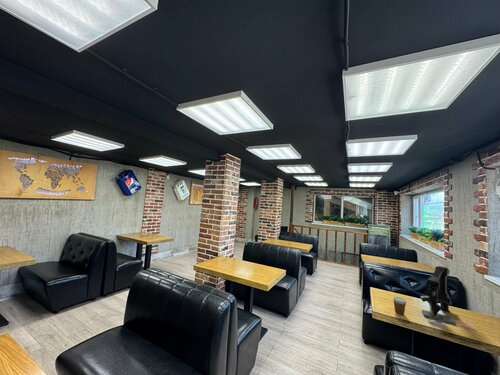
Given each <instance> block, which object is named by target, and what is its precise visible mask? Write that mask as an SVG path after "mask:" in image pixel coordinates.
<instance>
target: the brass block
mask: <svg viewBox="0 0 500 375" xmlns="http://www.w3.org/2000/svg"><path fill="white" fill-rule="evenodd" d="M429 311H430V315H433V316H434V313H433V309H432V308H431V307H430V306H429ZM436 316H437V315H436Z"/></svg>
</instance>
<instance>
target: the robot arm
mask: <svg viewBox="0 0 500 375" xmlns="http://www.w3.org/2000/svg"><path fill="white" fill-rule="evenodd" d="M449 275H450V269H449V268H448V267H445V266H442V265H441V266H440V265H438V266H435V268H434V272H433V273H432V275H431V276H430V277H428V279H427V280H426V284H425V288H426V289H425V290H424V295H420V299H421V302H427V303H428V304H429V308H430V307H431V308H432V309H433V313H434V316H436V315H437V313H438V314H439V312H440V311H444V312H447V313H451V311H450V309H449V306H452V300H451V298H450V295H449V293H448V288H447V287H448V286H447V285H448V284H447V283H448V282H447V277H448V276H449ZM438 291H439V292H438ZM439 303H440V304H439Z"/></svg>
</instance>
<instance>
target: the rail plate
mask: <svg viewBox="0 0 500 375" xmlns="http://www.w3.org/2000/svg"><path fill="white" fill-rule="evenodd" d="M421 314H422V316H423V317H424V318H427V319H432V320H435V321H439V322H443V323H447V324H451V325H454V326H455V325H456V326H457V322H456V321H455V319H454V318H453V316H450V315H447V314H446V315H445V314H443V313H442V314H441V313H439V312H438V313H437V316H433V315H430V310H425V309H421Z"/></svg>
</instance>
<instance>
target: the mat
mask: <svg viewBox="0 0 500 375" xmlns="http://www.w3.org/2000/svg"><path fill="white" fill-rule="evenodd" d="M454 321H455V322H456V325H458V326H459V327H461V328H462V327H463V328H466V329H469V330H474V331H478V330H477V328H476V327H475V326H474V325H473V324H472V323H469V322H465V321H461V320H458V319H454Z"/></svg>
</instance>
